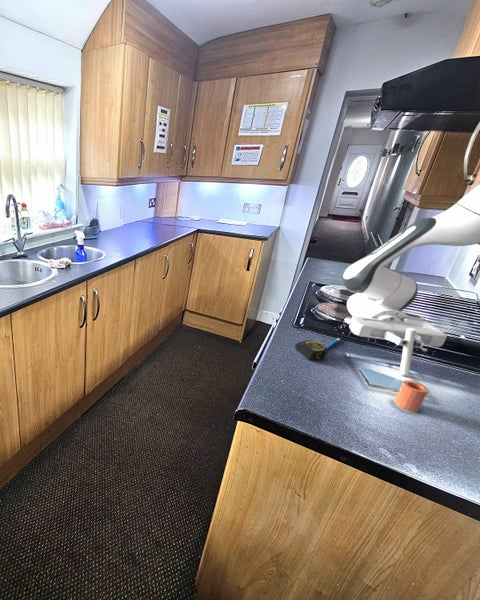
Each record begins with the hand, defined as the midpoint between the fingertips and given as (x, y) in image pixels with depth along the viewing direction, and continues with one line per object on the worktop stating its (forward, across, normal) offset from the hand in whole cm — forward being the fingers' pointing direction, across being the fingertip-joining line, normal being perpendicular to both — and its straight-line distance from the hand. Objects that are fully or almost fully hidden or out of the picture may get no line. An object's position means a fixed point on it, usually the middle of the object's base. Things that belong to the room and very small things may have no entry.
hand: (411, 344), depth 85 cm
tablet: (-1, -2, +11) cm, 11 cm away
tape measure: (-5, -19, +11) cm, 22 cm away
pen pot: (+13, -4, +11) cm, 17 cm away
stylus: (-1, +2, +10) cm, 10 cm away
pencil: (-13, -12, +11) cm, 21 cm away
